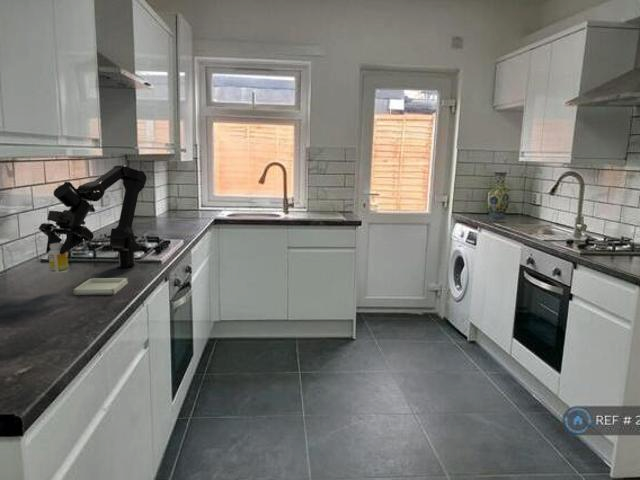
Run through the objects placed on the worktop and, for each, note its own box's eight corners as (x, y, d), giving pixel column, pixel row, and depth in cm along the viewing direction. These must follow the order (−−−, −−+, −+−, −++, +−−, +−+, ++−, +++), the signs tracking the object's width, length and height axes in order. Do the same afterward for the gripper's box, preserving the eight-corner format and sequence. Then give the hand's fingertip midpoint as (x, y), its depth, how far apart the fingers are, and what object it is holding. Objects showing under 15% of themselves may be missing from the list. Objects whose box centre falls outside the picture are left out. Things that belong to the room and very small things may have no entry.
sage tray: (91, 283, 171) (90, 278, 170) (128, 282, 171) (127, 278, 171) (74, 294, 158) (73, 289, 157) (114, 294, 158) (113, 289, 158)
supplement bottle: (48, 274, 159) (44, 246, 157) (53, 270, 164) (50, 242, 162) (66, 273, 160) (62, 245, 158) (70, 269, 165) (67, 241, 163)
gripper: (39, 199, 164) (14, 238, 156) (83, 202, 158) (59, 242, 150) (61, 218, 173) (38, 255, 165) (103, 221, 167) (82, 260, 159)
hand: (54, 253), depth 159 cm, fingers closed on supplement bottle, 5 cm apart
